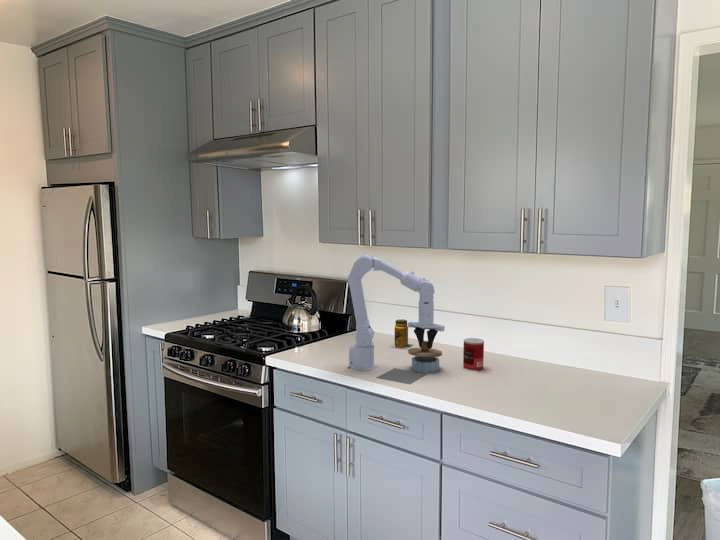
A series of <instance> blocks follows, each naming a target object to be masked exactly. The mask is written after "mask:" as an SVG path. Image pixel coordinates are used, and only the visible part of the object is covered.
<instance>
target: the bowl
mask: <svg viewBox="0 0 720 540" xmlns="http://www.w3.org/2000/svg"><path fill="white" fill-rule="evenodd" d="M411 370H413V371H414V372H419V373H435V372H438V371H439V370H440V358H439V357H420V356H413V357H411Z"/></svg>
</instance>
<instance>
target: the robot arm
mask: <svg viewBox="0 0 720 540" xmlns="http://www.w3.org/2000/svg"><path fill="white" fill-rule="evenodd" d="M372 269H373V270H372ZM371 270H372V271H373V272H376V271H377V272H378V271H382V272H383V273H386V274H388V275H390V276H392V277H394V278H396V279H398V280H399V281H400V285H402V286H403V287H405V288H407V289H409V290H412V292H416V293H418V294H419V300H418V321H407V326H408V329H409V328H411V329H412V328H414V329H413V333H414V335H415V336H416V338H417V342H418V348H421V344H422V341H425V340H424V338H425V330H426V336H427V341H428V349H433V344H434V342H435V341H434V340H435V338H436V336H437V334H438V332H443V333H444V332H445V325H443V324H441V325H440V324H436V323H434V322H435V321H434V314H435V313H434V311H435V310H434V308H435V307H434V306H435V303H434V302H435V300H434V294H435V287H434V285H433V283H432V282H431V281H430V280H428V279H427V280H426V278H424V277H423V278H422V277H420V276H418V275H417V274H415V272H414V271H413V270H411V271H409V270H406V271H402V270H401V269H399V268H397V267H395V266H394V265H392V264H390V263H389V262H387V261H386V260H383V259H381V258H379V257H378V256H377V257H376V256H373V255H371V254H370V253H364V254H362V255H361V256H359V257H358V258H357V259H356V260H355V261H354V262H353V265H352V268H351V270H350V271H349V275H348V276H347V278H348V279H347V280H348V284H349V290H350V291H349V292H350V295H351V301H352V306H353V312H354V317H355V325H356V326H355V328H356V329H355V330H356V334H355V343H352V344H351V345H350V346H349V348H348V349H349V350H348V366H347V367H348V368H349V367H350V368H349V369H356V370H362V371H368V372H369V371H371V370H373V369H375V368H377V367H378V366H379V364H375V342H373V338H374V336H375V333H374V330H373V328H372V326H371V323H370V320H369V317H368V311H367V305H366V299H365V294H364V289H363V283H362V279H363V278H364V276H365V275H366V274H367V273H369V272H371Z"/></svg>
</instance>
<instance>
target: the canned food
mask: <svg viewBox="0 0 720 540" xmlns="http://www.w3.org/2000/svg"><path fill="white" fill-rule="evenodd" d="M484 351H485V341H484V339H482V338H477V337H469V338H465V339H463V351H462V352H463V354H462V355H463V358H462V359H463V360H462V361H463V363H462V365H463V368H464V369H466V370H469V371H470V370H471V371H472V370H473V371H481V370H483V367H484V358H485V357H484V356H485V355H484V353H485V352H484Z"/></svg>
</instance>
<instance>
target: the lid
mask: <svg viewBox="0 0 720 540" xmlns="http://www.w3.org/2000/svg"><path fill="white" fill-rule="evenodd" d="M407 354H408V355H411V356H413V357H415V356H420V357H437V358H439V357H441V356H443V351H442V350H439V349H436V348H431V349H428V340H424V341H422V344H421V348H420V347H414V348H413V347H411V348H409V349H408V348H407Z"/></svg>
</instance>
